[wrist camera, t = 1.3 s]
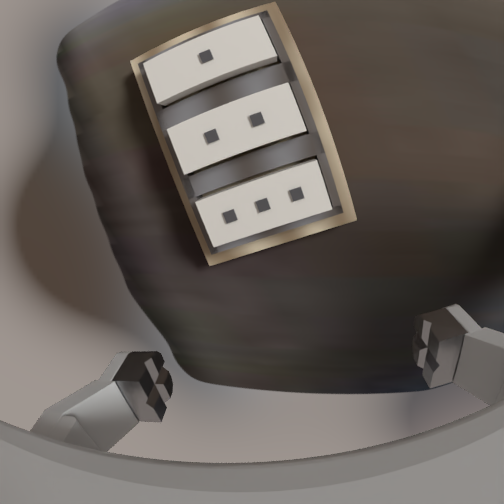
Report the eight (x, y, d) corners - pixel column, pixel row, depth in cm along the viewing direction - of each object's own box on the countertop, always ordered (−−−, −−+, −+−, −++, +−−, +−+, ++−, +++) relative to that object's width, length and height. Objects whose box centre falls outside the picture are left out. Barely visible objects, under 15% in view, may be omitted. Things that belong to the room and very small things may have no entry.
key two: (287, 86, 24) (288, 81, 22) (304, 131, 25) (306, 130, 23) (174, 129, 26) (165, 129, 24) (190, 172, 27) (183, 175, 25)
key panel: (275, 10, 24) (274, -7, 20) (351, 214, 32) (361, 225, 27) (140, 65, 28) (121, 57, 23) (214, 257, 35) (205, 273, 31)
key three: (314, 158, 26) (317, 160, 24) (328, 204, 27) (332, 209, 25) (200, 198, 28) (194, 202, 26) (217, 240, 29) (213, 248, 27)
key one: (260, 23, 22) (258, 14, 20) (277, 61, 23) (277, 55, 21) (151, 67, 24) (141, 63, 22) (165, 105, 25) (156, 103, 23)
